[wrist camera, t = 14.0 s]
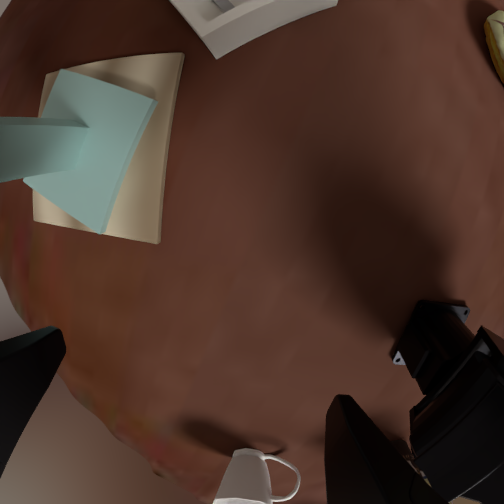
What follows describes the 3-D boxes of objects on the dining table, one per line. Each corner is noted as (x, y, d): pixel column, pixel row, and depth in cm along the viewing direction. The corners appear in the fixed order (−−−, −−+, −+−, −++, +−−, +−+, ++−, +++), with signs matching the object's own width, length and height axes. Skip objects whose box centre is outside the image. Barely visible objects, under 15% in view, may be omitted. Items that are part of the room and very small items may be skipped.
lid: (164, 104, 16) (37, 60, 5) (112, 228, 19) (-6, 294, 8) (74, 72, 15) (-36, 50, 4) (36, 178, 19) (-68, 207, 8)
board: (184, 55, 15) (182, 52, 15) (160, 241, 20) (157, 244, 19) (50, 75, 16) (46, 74, 15) (37, 219, 21) (33, 220, 20)
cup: (215, 442, 28) (203, 495, 20) (298, 440, 26) (298, 497, 19) (229, 466, 30) (220, 512, 22) (301, 464, 29) (301, 513, 21)
